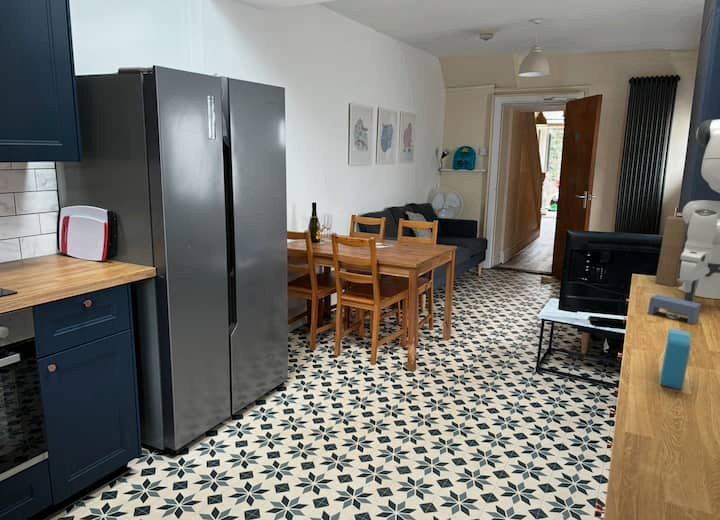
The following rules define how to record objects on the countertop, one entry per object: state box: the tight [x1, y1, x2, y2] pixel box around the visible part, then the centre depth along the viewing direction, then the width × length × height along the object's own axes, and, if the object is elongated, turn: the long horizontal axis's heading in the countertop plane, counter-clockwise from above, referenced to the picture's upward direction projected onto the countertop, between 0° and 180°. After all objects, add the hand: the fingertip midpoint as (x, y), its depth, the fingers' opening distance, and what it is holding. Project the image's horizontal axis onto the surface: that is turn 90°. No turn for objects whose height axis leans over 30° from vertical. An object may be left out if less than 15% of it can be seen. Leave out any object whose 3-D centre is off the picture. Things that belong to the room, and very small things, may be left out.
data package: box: [660, 328, 692, 390], centre depth 129 cm, size 12×4×12 cm, turn 149°
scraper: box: [666, 279, 698, 317], centre depth 191 cm, size 12×7×13 cm, turn 133°
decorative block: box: [654, 215, 687, 287], centre depth 234 cm, size 8×15×30 cm, turn 144°
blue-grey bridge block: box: [647, 294, 702, 325], centre depth 183 cm, size 7×14×6 cm, turn 43°
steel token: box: [665, 313, 680, 320], centre depth 184 cm, size 4×4×1 cm
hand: (690, 290), depth 194 cm, fingers open, 7 cm apart
